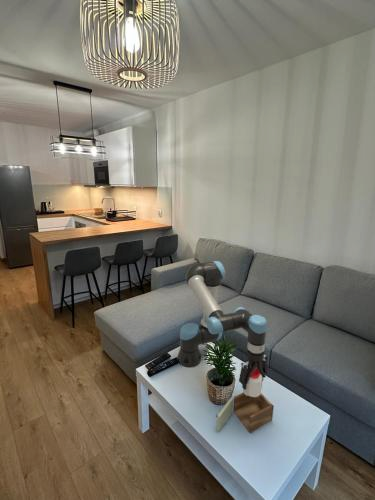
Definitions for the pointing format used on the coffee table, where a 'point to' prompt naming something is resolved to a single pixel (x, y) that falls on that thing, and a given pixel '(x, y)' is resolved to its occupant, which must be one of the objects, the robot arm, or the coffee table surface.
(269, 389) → the coffee table surface
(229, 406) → the door
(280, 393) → the coffee table surface
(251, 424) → the box
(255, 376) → the pill bottle
